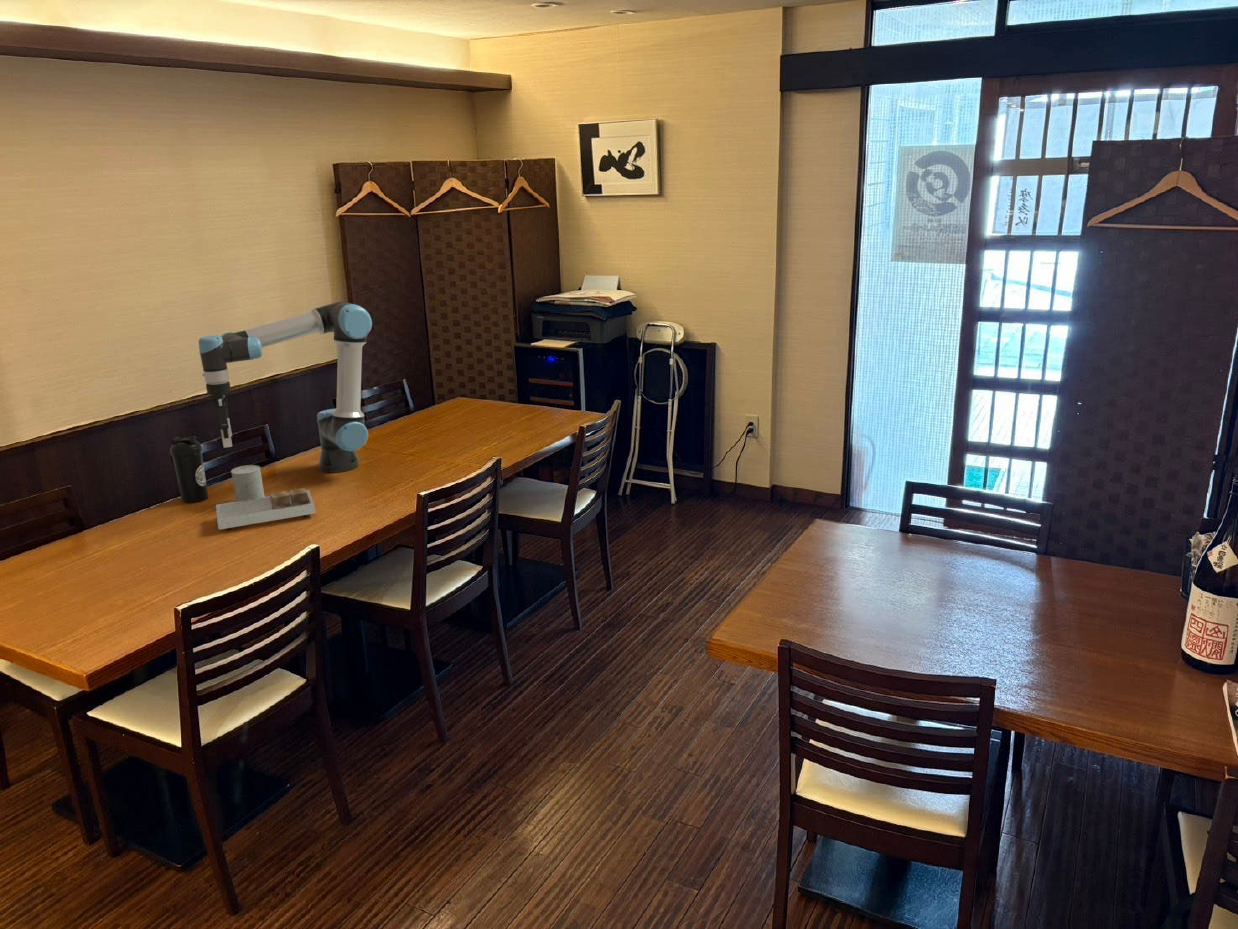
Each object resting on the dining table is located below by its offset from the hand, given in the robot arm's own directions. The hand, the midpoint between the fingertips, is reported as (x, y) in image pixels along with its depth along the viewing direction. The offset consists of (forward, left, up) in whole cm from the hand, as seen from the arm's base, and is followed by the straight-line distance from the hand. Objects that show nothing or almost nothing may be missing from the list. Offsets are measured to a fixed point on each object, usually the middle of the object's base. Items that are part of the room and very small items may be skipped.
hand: (228, 441), depth 312 cm
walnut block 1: (-13, +23, -20) cm, 33 cm away
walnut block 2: (-19, +23, -20) cm, 35 cm away
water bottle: (+14, -9, -22) cm, 28 cm away
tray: (-8, +23, -22) cm, 33 cm away
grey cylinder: (-4, +4, -22) cm, 23 cm away
